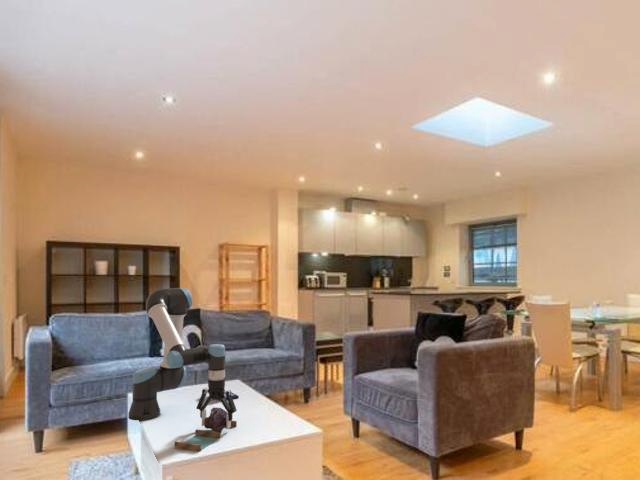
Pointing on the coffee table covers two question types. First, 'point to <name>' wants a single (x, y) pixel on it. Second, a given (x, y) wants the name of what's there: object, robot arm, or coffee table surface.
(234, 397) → the handheld game console
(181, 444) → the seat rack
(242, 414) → the coffee table surface
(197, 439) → the marked pad
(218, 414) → the rock
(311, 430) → the coffee table surface
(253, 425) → the coffee table surface
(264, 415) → the coffee table surface
